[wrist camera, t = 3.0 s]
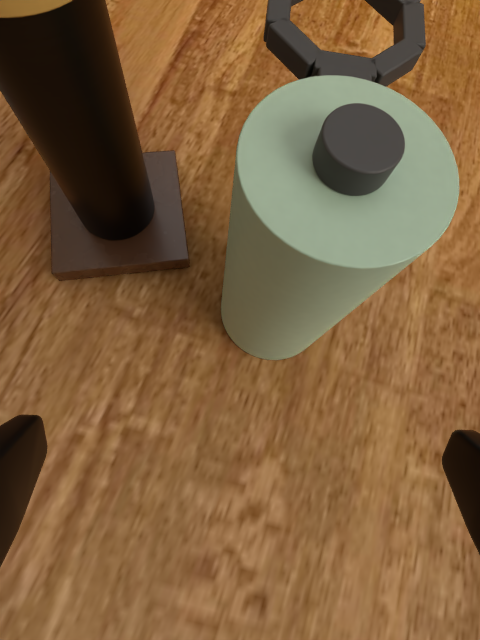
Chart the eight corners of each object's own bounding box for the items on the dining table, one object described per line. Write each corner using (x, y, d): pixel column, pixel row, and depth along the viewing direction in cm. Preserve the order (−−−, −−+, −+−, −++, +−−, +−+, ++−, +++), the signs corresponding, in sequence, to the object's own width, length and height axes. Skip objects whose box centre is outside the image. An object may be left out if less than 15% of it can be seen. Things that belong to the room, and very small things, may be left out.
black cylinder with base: (189, 267, 24) (137, -173, 6) (59, 281, 23) (-424, -190, 5) (176, 162, 26) (109, -383, 8) (56, 170, 25) (-297, -423, 7)
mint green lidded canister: (319, 365, 23) (496, 267, 9) (214, 353, 22) (224, 230, 8) (327, 186, 26) (461, -86, 12) (238, 173, 26) (271, -120, 12)
